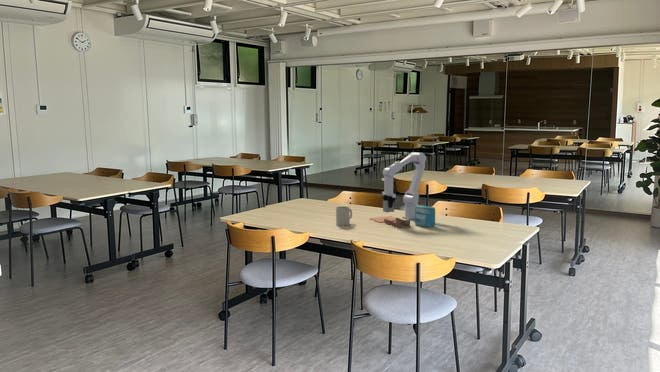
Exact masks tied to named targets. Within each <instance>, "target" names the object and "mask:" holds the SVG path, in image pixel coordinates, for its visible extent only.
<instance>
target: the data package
mask: <svg viewBox="0 0 660 372" xmlns="http://www.w3.org/2000/svg"><path fill="white" fill-rule="evenodd" d="M414 224H415V226H418V225H421V226H420V227H424V226H427V227H426V228H432V227H435V225H436V208H435V207H433V206H425V205H419V206H417V207H415V219H414Z"/></svg>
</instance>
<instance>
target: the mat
mask: <svg viewBox="0 0 660 372" xmlns="http://www.w3.org/2000/svg"><path fill="white" fill-rule="evenodd" d="M396 218H397V217H394V216H392V215H389V216H381V217H379V216H378V217H370V218H369V219H370V221H371V220H372V221H374V222H376V223H379V224H382V223H384V219H388V220H390V221H393V222H396Z"/></svg>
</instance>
